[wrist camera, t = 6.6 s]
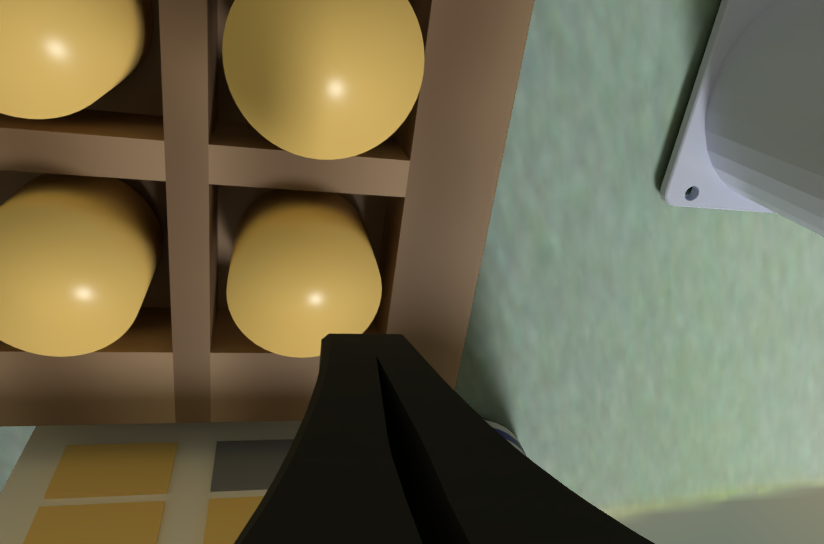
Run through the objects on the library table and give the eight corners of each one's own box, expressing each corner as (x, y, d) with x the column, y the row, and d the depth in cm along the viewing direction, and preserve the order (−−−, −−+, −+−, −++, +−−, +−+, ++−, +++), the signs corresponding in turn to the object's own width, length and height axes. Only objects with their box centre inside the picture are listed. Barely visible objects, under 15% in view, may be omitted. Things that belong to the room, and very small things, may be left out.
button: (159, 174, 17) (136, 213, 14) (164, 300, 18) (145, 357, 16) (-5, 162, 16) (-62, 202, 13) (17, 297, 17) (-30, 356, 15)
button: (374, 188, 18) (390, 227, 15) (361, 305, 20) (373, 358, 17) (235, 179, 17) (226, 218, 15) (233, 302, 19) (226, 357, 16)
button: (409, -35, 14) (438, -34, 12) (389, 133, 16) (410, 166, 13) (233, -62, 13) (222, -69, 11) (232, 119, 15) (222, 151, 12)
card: (346, 397, 23) (370, 559, 16) (344, 417, 23) (367, 582, 17) (47, 400, 20) (-54, 590, 14) (50, 422, 21) (-47, 616, 14)
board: (520, -145, 16) (568, -167, 13) (429, 364, 23) (449, 417, 20) (-227, -302, 12) (-368, -375, 9) (-66, 364, 19) (-121, 428, 16)
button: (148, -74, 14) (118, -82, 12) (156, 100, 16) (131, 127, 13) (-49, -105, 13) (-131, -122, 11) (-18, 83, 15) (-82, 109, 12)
